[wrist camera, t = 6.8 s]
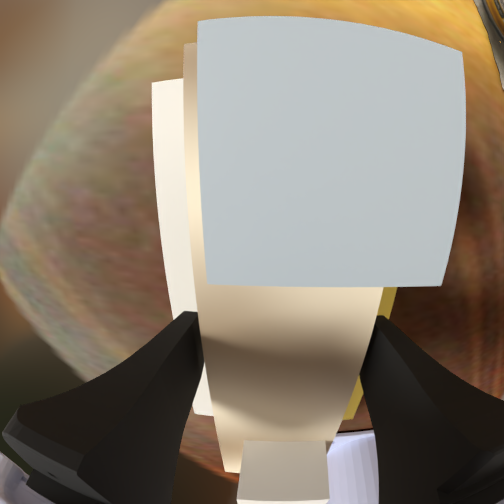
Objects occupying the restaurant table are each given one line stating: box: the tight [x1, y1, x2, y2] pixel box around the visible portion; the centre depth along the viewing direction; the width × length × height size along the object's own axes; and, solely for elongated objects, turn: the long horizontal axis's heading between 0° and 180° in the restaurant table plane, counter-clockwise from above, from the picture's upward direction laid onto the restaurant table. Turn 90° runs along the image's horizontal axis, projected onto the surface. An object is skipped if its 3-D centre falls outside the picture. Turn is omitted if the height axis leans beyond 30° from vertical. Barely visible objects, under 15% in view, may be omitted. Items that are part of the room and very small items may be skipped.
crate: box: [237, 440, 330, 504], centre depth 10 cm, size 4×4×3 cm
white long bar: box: [183, 42, 384, 473], centre depth 10 cm, size 18×5×4 cm, turn 0°
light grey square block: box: [197, 16, 466, 287], centre depth 5 cm, size 4×4×3 cm
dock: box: [152, 78, 397, 420], centre depth 13 cm, size 18×10×2 cm, turn 0°
